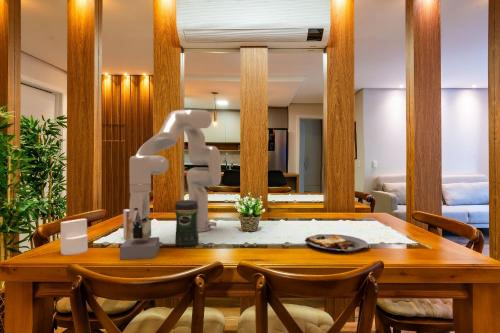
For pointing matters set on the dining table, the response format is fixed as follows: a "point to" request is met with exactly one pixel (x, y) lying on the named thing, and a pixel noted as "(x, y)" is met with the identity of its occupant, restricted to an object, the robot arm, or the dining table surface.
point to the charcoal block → (139, 248)
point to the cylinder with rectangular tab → (74, 237)
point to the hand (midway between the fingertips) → (140, 235)
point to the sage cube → (145, 230)
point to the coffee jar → (186, 223)
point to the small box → (127, 224)
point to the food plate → (336, 242)
